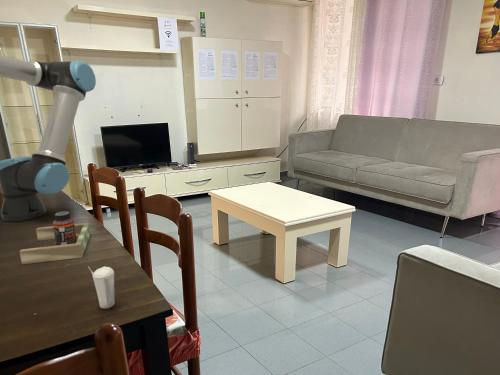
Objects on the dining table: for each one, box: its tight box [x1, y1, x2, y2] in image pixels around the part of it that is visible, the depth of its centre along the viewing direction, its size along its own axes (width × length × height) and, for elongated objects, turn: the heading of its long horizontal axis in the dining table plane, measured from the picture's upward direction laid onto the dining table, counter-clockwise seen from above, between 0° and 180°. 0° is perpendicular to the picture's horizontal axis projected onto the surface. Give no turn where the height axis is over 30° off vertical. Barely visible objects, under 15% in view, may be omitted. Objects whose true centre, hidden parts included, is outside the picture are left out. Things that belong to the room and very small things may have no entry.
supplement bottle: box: [52, 210, 77, 246], centre depth 115 cm, size 6×6×11 cm
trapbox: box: [19, 222, 91, 265], centre depth 115 cm, size 19×16×4 cm
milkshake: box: [87, 266, 116, 310], centre depth 83 cm, size 4×5×10 cm
